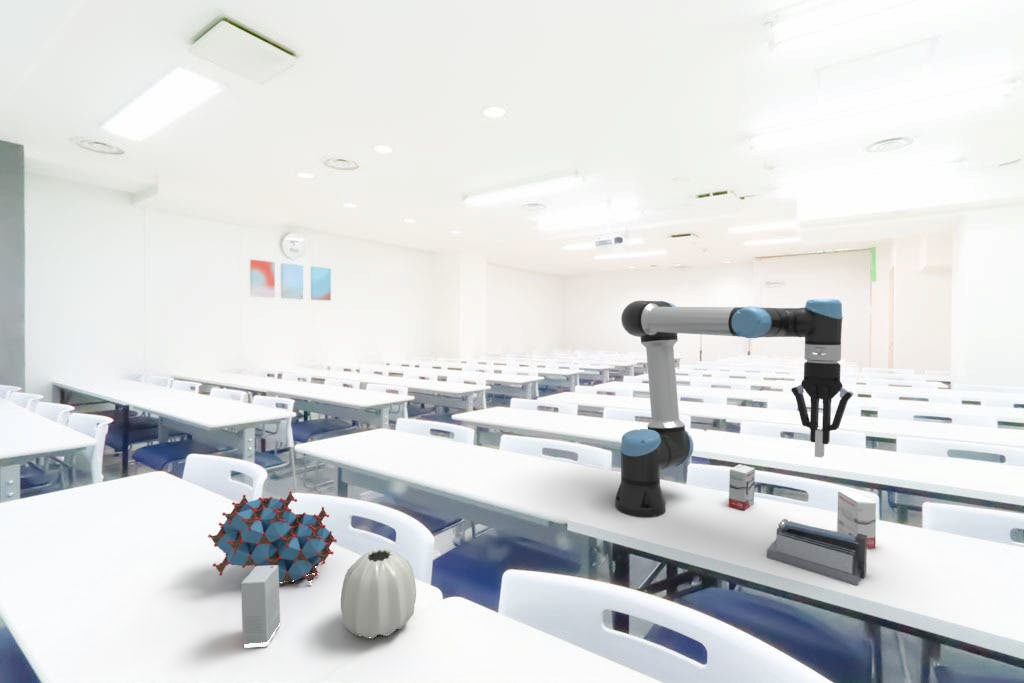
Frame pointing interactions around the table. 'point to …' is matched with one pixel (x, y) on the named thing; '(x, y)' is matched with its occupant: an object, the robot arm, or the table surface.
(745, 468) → the ink box
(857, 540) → the heatsink
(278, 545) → the molecule model
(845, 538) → the blue long flat bar
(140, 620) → the table surface
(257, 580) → the skincare box
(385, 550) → the vase
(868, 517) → the ink box
